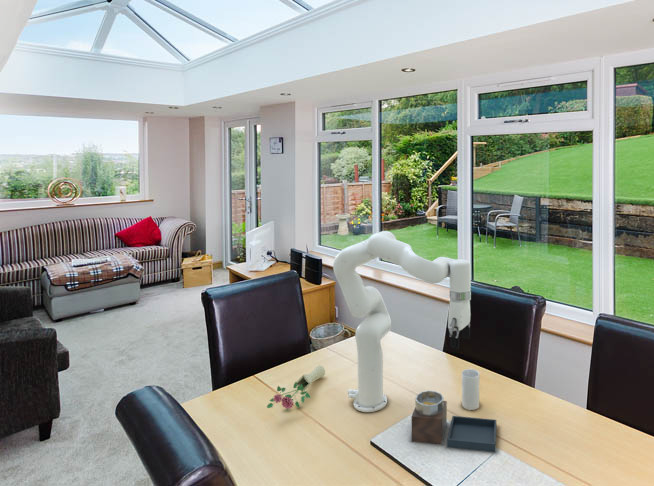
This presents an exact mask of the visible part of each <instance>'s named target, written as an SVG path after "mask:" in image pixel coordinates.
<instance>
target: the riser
mask: <svg viewBox="0 0 654 486" xmlns="http://www.w3.org/2000/svg"><path fill="white" fill-rule="evenodd" d="M447 405H448V402H447V400H444V406H443V411H442V412H441V413H440V414H438V415H435V416H423V415H421V414H419V413H418V412H417V411H416V408H415V407H414V409H413V412H412V415H411V442H413V443H415V442H416V443H423V444H435V445H443V442H444V441H443V440H444V437H445V435H446V428H447V425H448V415H447V413H448V410H447V409H448V408H447V407H448V406H447Z"/></svg>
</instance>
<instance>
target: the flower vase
mask: <svg viewBox="0 0 654 486" xmlns="http://www.w3.org/2000/svg"><path fill="white" fill-rule="evenodd" d="M325 374H326V369H325V367H324V366H322V365H317V366H316V367H315V368H314V369H313V370H312V371H311V372H309V373H307V374H302V376H300V377H299V379H298V380H297V381H295V382H294V383H293V389H294V390H292V391H288V392H285V391H286V389H287V387H281V386H279V385H277V388H276V392H279V393H280V394H279V393H278V394H277V393H276V394H274V396H273V397H272V398H271V399H269V401H270V403H268V404H267V406H266V408H267V409H271V408H273V406H274V403H275V404H279V403H281V406H282V408H284V409H285V411H289V410H290V409H292V408H294V405H295V406H296V408H298V409H300V406H301V405H300V403H299V401H298V400H297V399H296V397H295V396H296V394H300V395H302V396H300V401H301V403H302V404H305V399H306V398H307V399H311V398H312V397H311V395H310V393H309V392H308V391H306V390H307V389H308V388H309V387H310V386H311V385H312V384H313V383H314V382H315V381H317V380H320V379H321V378H324V376H325ZM284 392H285V393H284ZM293 392H294V393H293ZM291 393H293V394H291ZM293 397H294V398H293ZM294 400H296V401H295V402H294Z"/></svg>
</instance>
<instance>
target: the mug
mask: <svg viewBox="0 0 654 486" xmlns="http://www.w3.org/2000/svg"><path fill="white" fill-rule="evenodd" d="M461 399H462V400H461V403H462V404H461V405H462V407H463V409H464V410H468V411H475V410H477V409H479V407H480V372H479V370H477V369H474V368H466V369H463V370H462V371H461Z"/></svg>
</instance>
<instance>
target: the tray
mask: <svg viewBox="0 0 654 486" xmlns="http://www.w3.org/2000/svg"><path fill="white" fill-rule="evenodd" d="M497 423H498V422H497V419H493V418H483V417H482V418H481V417H470V416H459V415H452V417H451V421H450V426H449V430H448V434H447V439H446V445H447V446H446V447H447V448H449V449H459V450H469V451H476V452H477V451H478V452H488V453H496V450H497V449H496V448H497V446H496V445H497V427H498V426H497V425H498V424H497Z"/></svg>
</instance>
